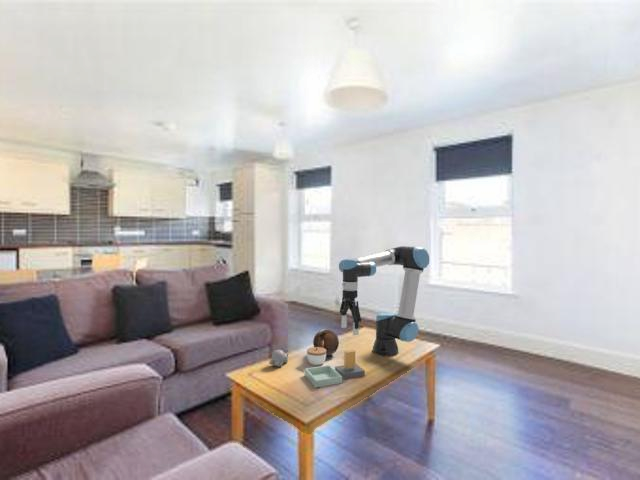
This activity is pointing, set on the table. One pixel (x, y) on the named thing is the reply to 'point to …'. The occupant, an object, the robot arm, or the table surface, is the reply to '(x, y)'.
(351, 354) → the fuse
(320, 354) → the lidded jar
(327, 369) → the parts tray
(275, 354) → the toy rhinoceros
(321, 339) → the wooden sphere
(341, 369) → the socket block
